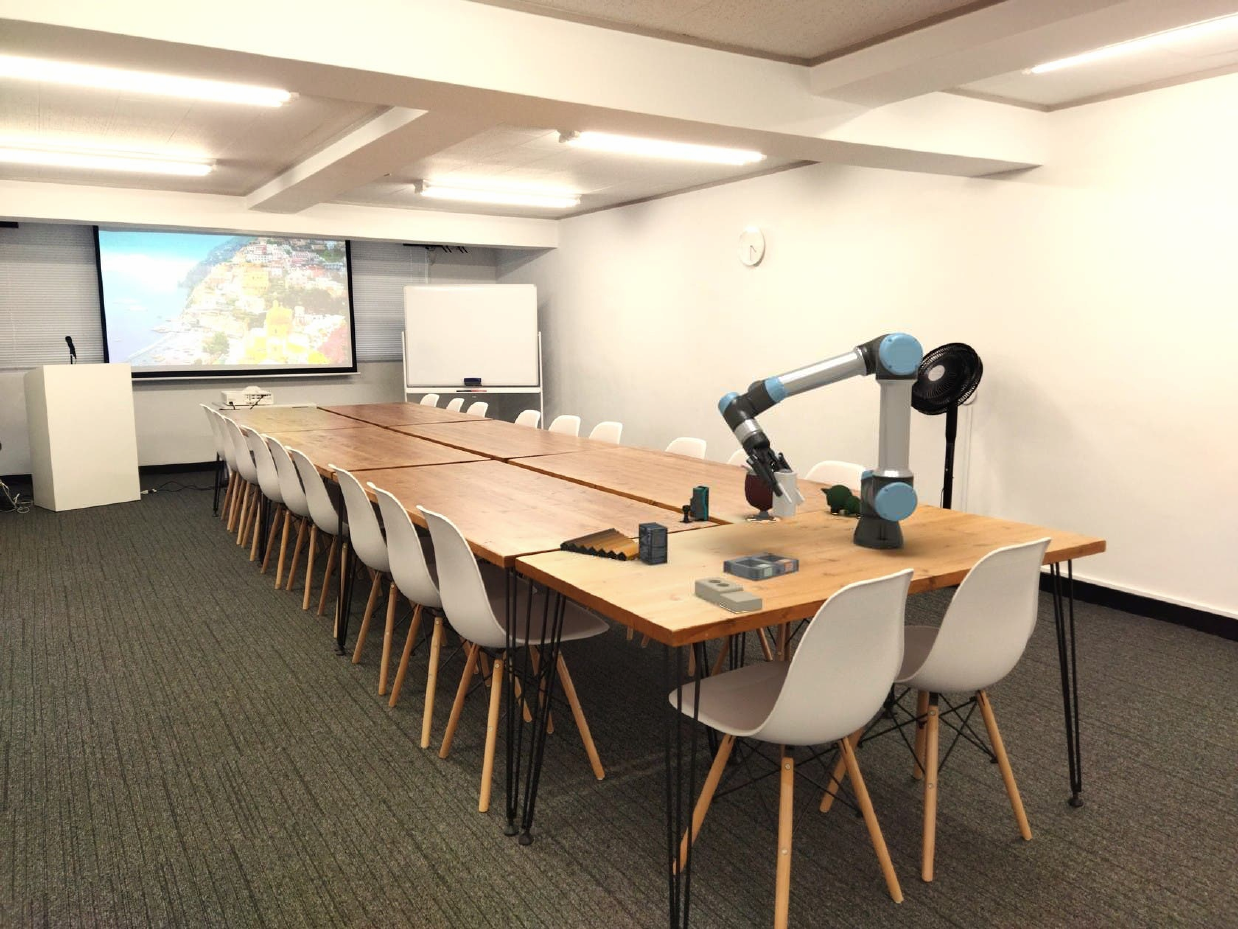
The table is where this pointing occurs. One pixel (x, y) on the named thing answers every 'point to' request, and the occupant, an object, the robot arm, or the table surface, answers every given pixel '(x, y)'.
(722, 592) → the electrical outlet
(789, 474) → the plug
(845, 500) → the toy figurine
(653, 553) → the box
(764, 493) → the mate gourd
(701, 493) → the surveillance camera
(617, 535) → the pan flute
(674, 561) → the table surface
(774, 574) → the socket block
